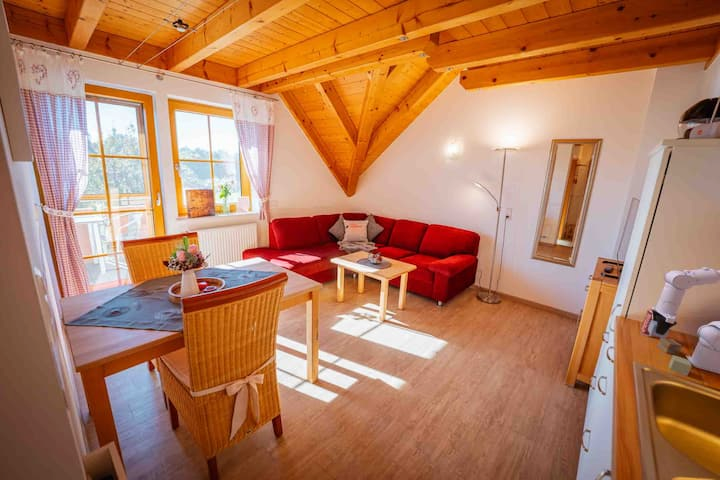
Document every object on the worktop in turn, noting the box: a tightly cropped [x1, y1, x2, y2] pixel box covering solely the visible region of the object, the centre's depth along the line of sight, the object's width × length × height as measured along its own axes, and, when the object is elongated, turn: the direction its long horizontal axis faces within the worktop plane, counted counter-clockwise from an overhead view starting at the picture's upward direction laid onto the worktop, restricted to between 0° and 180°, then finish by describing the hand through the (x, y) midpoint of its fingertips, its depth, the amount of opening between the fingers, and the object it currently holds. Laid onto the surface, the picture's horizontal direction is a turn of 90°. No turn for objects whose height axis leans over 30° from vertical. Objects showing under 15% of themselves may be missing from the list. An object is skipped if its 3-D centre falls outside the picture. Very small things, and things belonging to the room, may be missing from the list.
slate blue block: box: [648, 320, 671, 339], centre depth 116 cm, size 4×4×4 cm
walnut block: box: [656, 337, 683, 356], centre depth 122 cm, size 4×4×4 cm
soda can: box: [639, 308, 655, 338], centre depth 132 cm, size 5×5×12 cm
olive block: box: [668, 354, 692, 377], centre depth 110 cm, size 4×4×4 cm
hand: (657, 331), depth 117 cm, fingers closed on slate blue block, 4 cm apart
